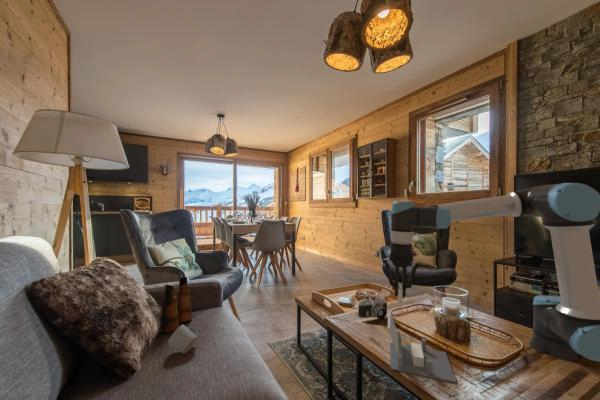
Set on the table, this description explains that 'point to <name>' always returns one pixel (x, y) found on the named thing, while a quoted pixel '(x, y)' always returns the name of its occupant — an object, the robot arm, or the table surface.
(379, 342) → the table surface
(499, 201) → the robot arm
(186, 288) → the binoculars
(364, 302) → the camera
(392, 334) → the cover
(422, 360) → the pale wooden block
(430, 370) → the grey open box
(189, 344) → the ceramic mug
